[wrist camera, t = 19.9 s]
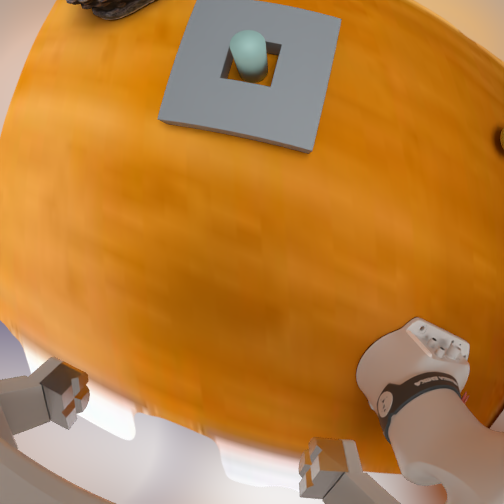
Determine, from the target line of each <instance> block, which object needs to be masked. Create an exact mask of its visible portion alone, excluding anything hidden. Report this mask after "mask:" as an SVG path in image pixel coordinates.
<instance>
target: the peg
mask: <svg viewBox="0 0 504 504" xmlns="http://www.w3.org/2000/svg"><path fill="white" fill-rule="evenodd" d="M230 50H231V52H232V55H233V58H234V61H235V63H236V66H237V69H238V72H239V74H240V76H241V78H242V79H243V80H245V81H246V82H250V83H256V82H260V81H262V80H263V79H264V78H265V77H266V75H267V73H268V66H267V54H266V42H265V39H264V37H263V36H262V35H261V34H260V33H258V32H256V31H253V30H244V31H240V32H238V33H237V34H235V35H234V36H233V37H232V39H231V41H230Z"/></svg>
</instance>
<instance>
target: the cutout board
mask: <svg viewBox="0 0 504 504" xmlns="http://www.w3.org/2000/svg"><path fill="white" fill-rule="evenodd" d="M340 24H341V19H339V18H336V17H332V16H329V15H325V14H321V13H317V12H313V11H309V10H305V9H300V8H295V7H290V6H285V5H280V4H274V3H268V2H261V1H254V0H197V2H196V4H195V6H194V9H193V11H192V14H191V17H190V19H189V22H188V24H187V27H186V30H185V32H184V35H183V38H182V41H181V44H180V46H179V49H178V52H177V55H176V58H175V61H174V64H173V67H172V70H171V74H170V77H169V80H168V83H167V87H166V90H165V94H164V97H163V101H162V104H161V108H160V111H159V115H158V120H160V121H162V122H164V123H166V124H170V125H177V126H183V127H189V128H195V129H201V130H207V131H212V132H217V133H223V134H228V135H233V136H237V137H242V138H247V139H251V140H256V141H260V142H265V143H269V144H273V145H277V146H281V147H285V148H289V149H293V150H297V151H301V152H304V153H308V154H309V153H310V152H311V151H312V150H313V146H314V141H315V137H316V133H317V129H318V125H319V120H320V116H321V112H322V107H323V103H324V99H325V94H326V90H327V85H328V81H329V76H330V72H331V67H332V63H333V58H334V53H335V49H336V44H337V39H338V34H339V29H340ZM244 30H253V31H256V32H258V33H260V34H261V35H262V36H263V37H264V39H265V42H266V53H270V54H275V55H279V57H278V61H277V65H276V69H275V72H274V76H273V80H272V84H271V87H268V86H263V85H258V84H253V83H248V82H242V81H237V80H231V79H227V78H228V74H229V71H230V67H231V64H232V61H233V55H232V52H231V50H230V41H231V39H232V37H233V36H234V35H235V34H237V33H238V32H240V31H244Z"/></svg>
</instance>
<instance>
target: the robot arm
mask: <svg viewBox="0 0 504 504" xmlns="http://www.w3.org/2000/svg"><path fill="white" fill-rule="evenodd" d="M422 326H423V327H422ZM421 327H422V328H421ZM420 328H421V329H420ZM468 356H469V343H468V342H467V341H465V340H464V339H462V338H460V337H458V336H456V335H454V334H452V333H450V332H448V331H446V330H444V329H442V328H439V327H437V326H435V325H433V324H431V323H429V322H427V321H425V320H423V319H421V318H419V317H416V318H414V319H412V320H411V321H409V322H408V323H407V324H406V325H405V326H404V327H402V328H401V329H399V330H397V331H394V332H392V333H389V334H387V335H385V336H384V337H382V338H380V339H379V340H377V341H376V342H375V343H374V344H373V345H372V346H370V348H369V349H368V350H367V351H366V352H365V354H364V355H363V356H362V358H361V360H360V362H359V365H358V368H357V373H356V379H357V384H358V386H359V388H360V389H361V391H362V392H363V393H364V394H365V396H366V397H367V398H368V402H369V405H370V407H371V409H372V410H375V412H376V414H377V415H378V417H379V422H380V425H381V427H382V430H383V434H384V436H385V437H386V439H387V441H388V442H389V443H390V444H391V445H392V448H393V450H394V453H395V456H396V459H397V462H398V465H399V467H400V470H401V473H402V475H403V476H404V478H406V479H407V480H408V481H410V482H412V483H414V484H417V485H422V486H429V485H435V484H440V483H442V485H443V486H444V488H445V489H446V491H447V501H446V503H445V504H504V432H497V431H493V430H491V429H489V428H487V427H485V426H484V425H482V424H481V423H480V422H479V421H478V420H477V419H476V418H475V416H474V415H473V414H472V413H471V412H470V410H469V409H468V408H467V407H466V405H465V402H466V401H467V399H468V397H469V395H468V396H467V397H466V394H467V392H465V393H464V395H463V397H462V398H461V395H460V393H461V391H462V389H463V388H464V386H465V384H466V381H467V379H468V376H469V371H470V366H469V363H468V362H467V359H468ZM87 382H88V374H87V373H85V372H83V371H81V370H79V369H77V368H75V367H73V366H71V365H69V364H68V363H66V362H63V361H61V360H60V359H58V358H56V357H51V358H49V359H48V360H47V361H46V362H45V363H44V364H42V365H41V366H40V367H39V368H38V369H37V370H36V371H34V372H33V373H32V374H31V375H30V376H29V377H27V376H20V377H14V378H9V379H2V380H0V504H116V503H113V502H111V501H109V500H106V499H104V498H102V497H99V496H97V495H95V494H93V493H91V492H89V491H87V490H85V489H83V488H81V487H79V486H77V485H75V484H73V483H71V482H69V481H67V480H66V479H64V478H62V477H60V476H58V475H57V474H55V473H53V472H52V471H50V470H48V469H47V468H45V467H43V466H42V465H40V464H39V463H37V462H35V461H34V460H32V459H31V458H29V457H28V456H26V455H25V454H23V453H22V452H20V451H19V450H18V448H17V444H16V442H15V439H14V437H13V435H15V434H18V433H21V432H24V431H26V430H29V429H32V428H34V427H37V426H39V425H42V424H44V423H47V422H50V420H51V421H53V422H55V423H56V424H58V425H60V426H62V427H64V428H66V429H68V430H69V429H70V428H71V426H72V425H73V424H74V422H75V421H76V420H77V415H76V414H77V413H80V412H83V411H84V409H85V408H86V406H87V404H88V401H89V396H90V393H89V389H88V387H87V386H86V384H87ZM465 397H466V399H465ZM299 474H300V476H301V477H302V480H301V481H300V483H299V489H300V497H304V498H315V499H323V502H324V503H325V504H401V503H399V502H398V501H397V500H396V499H395V498H394V497H392V496H391V495H390V494H389V493H388V492H387V491H386V490H385V489H383V488H382V487H381V486H380V485H379V484H378V483H377V482H376V481H375V480H374V479H373V478H371V477H370V476H369V475H368V474H367V473H363V471H362V467H361V463H360V459H359V455H358V451H357V447H356V443H355V441H354V440H344V439H332V438H321V437H313V438H312V439H311V440H310V442H309V449H307V450H305V451H304V452H303V454H302V456H301V459H300V462H299Z"/></svg>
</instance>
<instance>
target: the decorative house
mask: <svg viewBox="0 0 504 504" xmlns="http://www.w3.org/2000/svg"><path fill="white" fill-rule="evenodd" d="M66 1H67V3H69V4H73V5H76V4H81V6H82V8H84V9H91V8H92V11H93V14H94V15H96V16H98V17H100V18H103V19H108V20H113V19H117V18H122V17H124V16H126V15H128V14H131V13H133V12H135V11H136V10H138V9H140V8H142V7H144V6H145V5H147V4H148V3H151V2H153V1H154V0H66Z"/></svg>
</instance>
